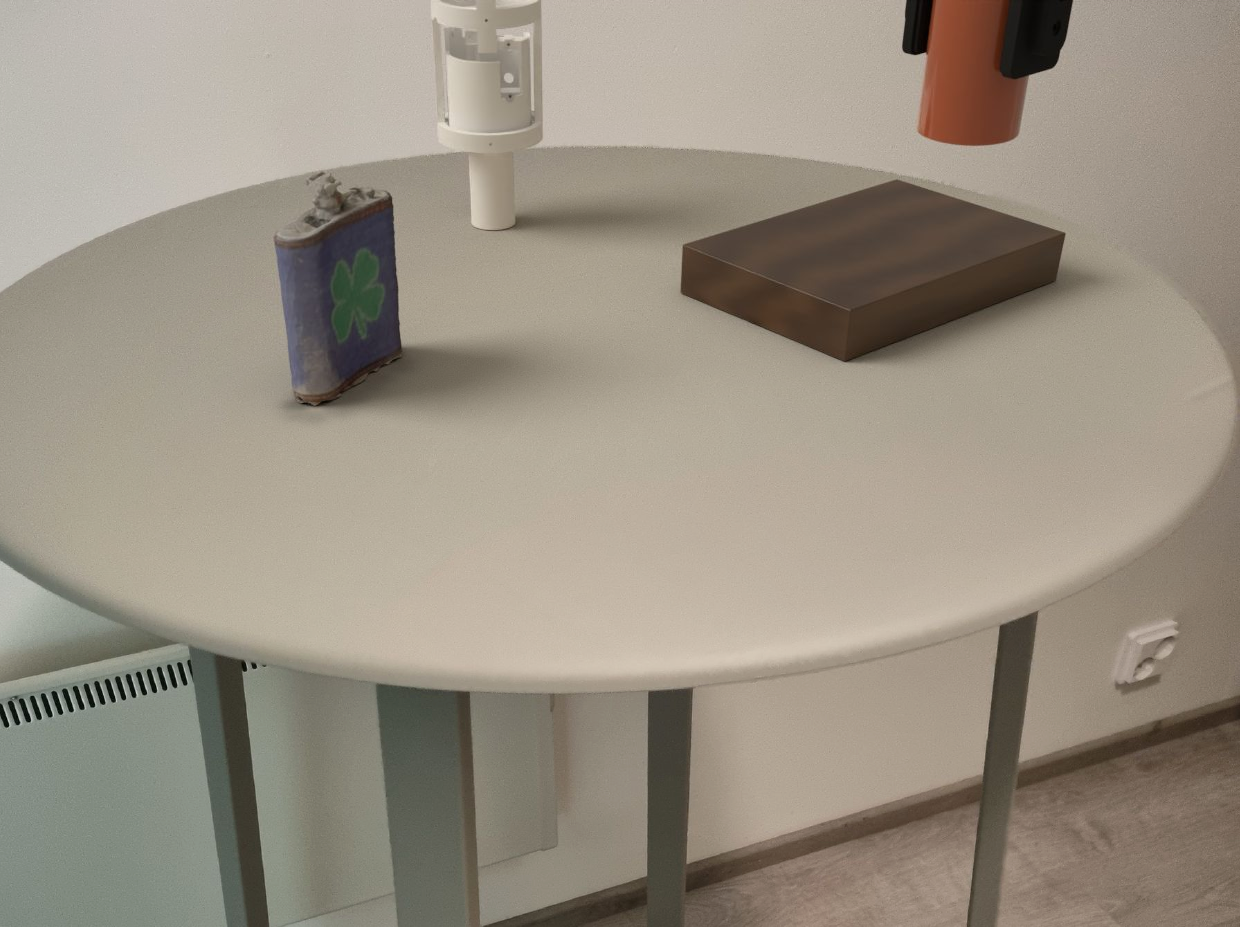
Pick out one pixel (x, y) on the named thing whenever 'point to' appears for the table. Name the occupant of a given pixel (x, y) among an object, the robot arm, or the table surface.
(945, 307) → the board
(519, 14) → the white cylindrical fitting
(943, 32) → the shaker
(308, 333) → the flask
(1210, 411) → the table surface
